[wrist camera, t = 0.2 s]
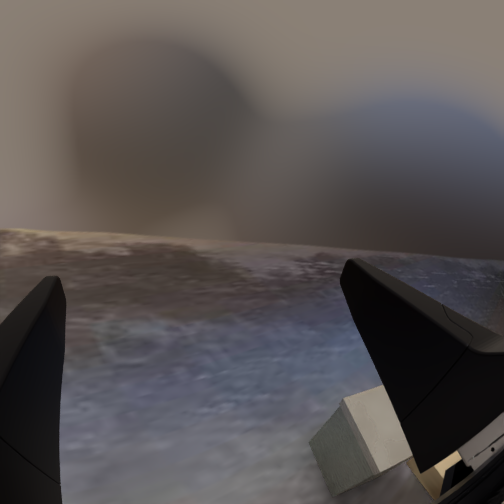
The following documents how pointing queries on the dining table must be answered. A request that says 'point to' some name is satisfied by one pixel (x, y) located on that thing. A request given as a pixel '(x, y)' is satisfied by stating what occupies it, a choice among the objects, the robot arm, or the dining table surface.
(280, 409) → the dining table surface
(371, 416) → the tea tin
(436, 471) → the oak block
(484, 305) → the dining table surface
